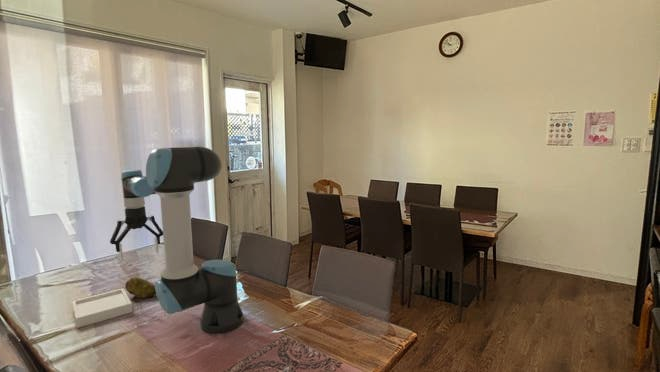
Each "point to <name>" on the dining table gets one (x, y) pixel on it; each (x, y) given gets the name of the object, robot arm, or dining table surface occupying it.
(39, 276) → the dining table surface
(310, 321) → the dining table surface
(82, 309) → the rectangular tray
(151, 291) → the potato
